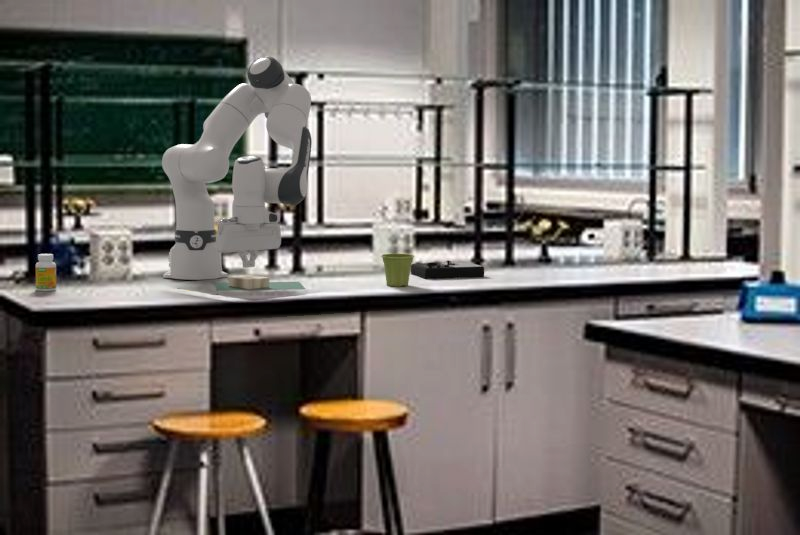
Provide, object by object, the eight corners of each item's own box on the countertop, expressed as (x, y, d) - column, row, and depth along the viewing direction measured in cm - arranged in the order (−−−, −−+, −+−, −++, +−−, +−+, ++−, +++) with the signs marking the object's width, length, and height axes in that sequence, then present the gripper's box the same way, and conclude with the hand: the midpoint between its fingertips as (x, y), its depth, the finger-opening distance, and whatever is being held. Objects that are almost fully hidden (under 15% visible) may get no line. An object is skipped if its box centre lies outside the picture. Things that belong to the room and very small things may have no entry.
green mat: (213, 286, 362) (213, 282, 362) (298, 285, 367) (298, 281, 367) (216, 294, 347) (216, 290, 347) (305, 293, 351) (305, 289, 351)
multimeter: (410, 275, 398) (410, 259, 397) (468, 273, 404) (468, 257, 404) (425, 280, 385) (425, 264, 385) (484, 278, 392) (485, 262, 391)
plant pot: (411, 288, 365) (411, 257, 364) (378, 287, 367) (378, 256, 366) (416, 284, 374) (416, 254, 373) (384, 282, 376) (384, 253, 375)
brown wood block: (248, 284, 360) (228, 286, 355) (248, 274, 359) (228, 276, 354) (269, 287, 353) (249, 289, 348) (269, 277, 353) (249, 279, 348)
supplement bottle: (35, 291, 348) (34, 255, 347) (36, 289, 354) (35, 253, 352) (56, 291, 350) (55, 255, 348) (56, 288, 355) (56, 253, 354)
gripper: (225, 219, 342) (225, 271, 344) (284, 215, 357) (284, 265, 358) (210, 217, 346) (211, 269, 348) (269, 214, 361) (269, 263, 363)
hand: (248, 267), depth 353 cm, fingers closed
